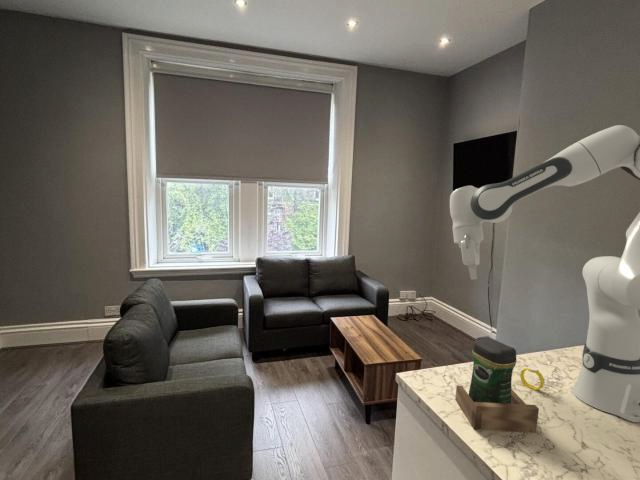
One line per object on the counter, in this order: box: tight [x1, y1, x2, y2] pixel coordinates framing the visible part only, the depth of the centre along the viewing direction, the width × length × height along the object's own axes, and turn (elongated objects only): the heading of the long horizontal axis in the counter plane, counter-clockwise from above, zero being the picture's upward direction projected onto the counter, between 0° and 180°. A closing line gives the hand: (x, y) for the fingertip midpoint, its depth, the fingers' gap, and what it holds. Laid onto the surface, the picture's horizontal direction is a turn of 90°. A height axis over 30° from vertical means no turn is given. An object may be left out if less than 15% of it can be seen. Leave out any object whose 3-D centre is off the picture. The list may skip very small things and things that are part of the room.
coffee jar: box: [468, 335, 517, 404], centre depth 85 cm, size 10×8×19 cm
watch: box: [519, 365, 545, 391], centre depth 98 cm, size 6×3×6 cm, turn 30°
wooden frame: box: [455, 385, 540, 434], centre depth 84 cm, size 14×12×6 cm
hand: (474, 279), depth 108 cm, fingers closed
